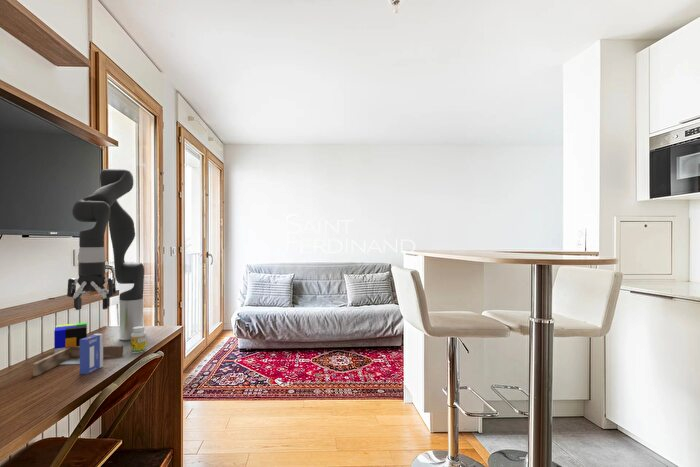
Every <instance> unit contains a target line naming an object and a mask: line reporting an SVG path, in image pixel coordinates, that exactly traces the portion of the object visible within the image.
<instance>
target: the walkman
mask: <svg viewBox="0 0 700 467" xmlns="http://www.w3.org/2000/svg"><path fill="white" fill-rule="evenodd" d="M103 346H104V333H94V334H91V335H87V337H86V338H83V339H80V364H79V375H89V374H91V373H93V372H94V371H97V370H99V369H100V368H103V367H104V358H103Z"/></svg>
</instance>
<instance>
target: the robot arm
mask: <svg viewBox="0 0 700 467" xmlns="http://www.w3.org/2000/svg"><path fill="white" fill-rule="evenodd" d="M99 180H100V181H99V183H100V187H99V188H97V189H96V190H95V191H94V192H92V193H91V195H88V196H86V197H83V198H81V199H79V200H77V201H76V202H75V203H74V204H73V206H72V209H71V210H72V211H71V212H72V216H73V218H74V219H75V220H76V221H78V222H80V223H95V225H94V226H93V227H91V228H86V229H82V230H80V232H79V235H78V238H79V240H78V241H79V246H78V256H77V257H78V258H77V260H78V261H77V263H78V266H77V267H78V268H77V270H78V271H77V272H78V274H77V275H78V278H76V277H72V278H68V280H67V293H66V296H67V297H69V298H70V297H71V299H73V307H74V309H75V311H79V310H82V303H83V302H82V298H81V297H82V296H83V295H84V293H85V292H97V293H98V294H100V295H101V297H102V310H107V309H109V307H110V304H111V303H110V302H111V300H110V299H111V297H114V296H116V294H117V290H116V287H117V286H116V282H117V283H118V284H120V285H122V284H123V285H124V284H125V285H127V284H129V285H131V284H132V285H133V287H132V288H130V289H128V290H125V291H123V292H120V293H119V340H121V341H131V334H132V333H134V332H133V327H138V326H144V287H145V286H144V284H145V282H144V281H145V266H144V264H143V263H142V262H125V255H126V253H127V251H128V249H129V247H130V246H131V245H132V243H133V241H134V240H135V237H136V231H135V223H134V220H133V218H132V216H131V215H130V214H129V213H128V212H127V211H126V209H124V208H123V207H122V205H121V204H120V202H119V201H118V199H120V198H122V197H123V196H124V195H126V194H129V193H130V191H132V189H133V188H134V176H133V173H132V172H131V171H130V170H128V169H121V168H119V169H118V168H104V169H102V170H101V171H100V174H99ZM107 225H108V228H109V235H110V241H111V245H112V252H113V263H114V264H113V265H114V266H113V267H114V275H115V276H114V277H111V278H106V276H105V275H106V250H105V233H106V228H107ZM105 284H106V285H107V287H106V286H105ZM77 285H79V287H78V288H77Z"/></svg>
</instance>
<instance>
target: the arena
mask: <svg viewBox="0 0 700 467" xmlns="http://www.w3.org/2000/svg"><path fill="white" fill-rule="evenodd" d="M123 356H124V345H103V359H104V358H117V357H118V358H120V357H123ZM65 365H67V366H69V365H80V346H75V347H68V348H66V349H63V350H61V351H59V352H57V353H55V354H54V353H53V354H50V355H48V356H46V357H45V358H42V359H40V360H38V361H36V362H34V363H32V368H33V369H32V370H33V372H32V375H33V377H37V376H39V375H41V374H43V373H45V372H48V371H50V370H51V369H53V368H55V367H57V366H65Z"/></svg>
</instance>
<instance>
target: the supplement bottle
mask: <svg viewBox="0 0 700 467" xmlns="http://www.w3.org/2000/svg"><path fill="white" fill-rule="evenodd" d="M133 332H134V333H132V334H131V340H130V353H131V354H140V353H139V352H141V353H144V352H143V351H145V352H147V349H148V348H147V345H148V344H147V337H148V336H147V332H146V331H145V326H144V325H143V326H138V327H133Z"/></svg>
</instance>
